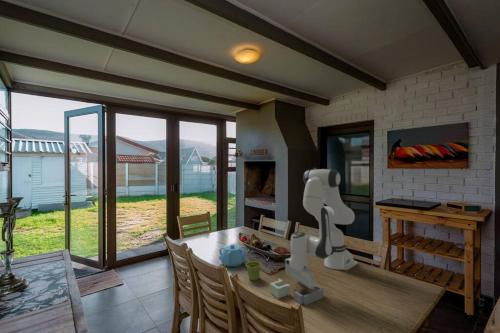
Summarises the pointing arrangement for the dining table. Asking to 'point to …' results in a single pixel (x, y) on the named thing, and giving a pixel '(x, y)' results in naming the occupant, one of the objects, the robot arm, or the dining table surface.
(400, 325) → the dining table surface
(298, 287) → the block
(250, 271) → the plant pot
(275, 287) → the pale grey notched piece
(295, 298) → the dock
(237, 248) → the decorative pot
